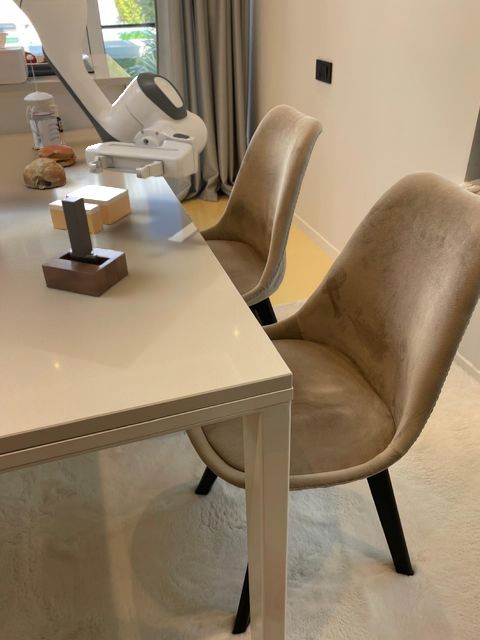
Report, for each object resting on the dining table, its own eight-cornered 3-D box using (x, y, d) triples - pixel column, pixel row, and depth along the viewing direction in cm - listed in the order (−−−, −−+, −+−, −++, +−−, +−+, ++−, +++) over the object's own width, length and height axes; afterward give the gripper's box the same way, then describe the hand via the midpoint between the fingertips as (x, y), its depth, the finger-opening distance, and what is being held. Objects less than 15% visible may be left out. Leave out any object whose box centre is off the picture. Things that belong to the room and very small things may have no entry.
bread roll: (29, 204, 137) (23, 178, 131) (22, 176, 142) (16, 149, 135) (71, 198, 141) (67, 173, 134) (62, 171, 145) (58, 145, 139)
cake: (70, 218, 119) (65, 195, 116) (92, 206, 125) (88, 184, 122) (110, 224, 116) (106, 201, 113) (131, 212, 122) (128, 189, 119)
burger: (68, 157, 160) (64, 140, 158) (82, 164, 154) (79, 146, 152) (34, 163, 155) (30, 146, 152) (48, 171, 149) (44, 153, 146)
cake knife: (71, 280, 94) (53, 199, 86) (80, 275, 96) (63, 194, 88) (96, 285, 92) (80, 202, 85) (105, 279, 94) (90, 198, 87)
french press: (71, 143, 174) (54, 52, 160) (51, 152, 165) (31, 57, 151) (43, 141, 176) (23, 52, 162) (22, 151, 167) (-1, 56, 153)
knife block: (46, 287, 92) (41, 264, 90) (80, 265, 99) (75, 244, 97) (97, 296, 89) (93, 274, 87) (128, 273, 96) (125, 252, 94)
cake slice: (53, 227, 114) (48, 204, 112) (62, 222, 117) (57, 199, 114) (94, 234, 111) (90, 209, 109) (103, 228, 114) (99, 204, 111)
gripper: (107, 130, 108) (61, 147, 97) (203, 137, 101) (165, 157, 91) (112, 163, 111) (69, 183, 100) (205, 173, 105) (169, 195, 94)
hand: (116, 171), depth 95 cm, fingers open, 8 cm apart
